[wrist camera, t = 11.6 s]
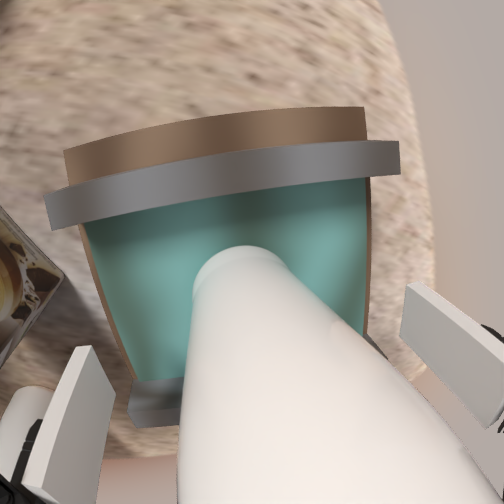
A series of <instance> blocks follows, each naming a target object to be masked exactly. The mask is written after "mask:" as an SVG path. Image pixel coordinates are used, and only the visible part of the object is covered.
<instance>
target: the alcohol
mask: <svg viewBox="0 0 504 504" xmlns="http://www.w3.org/2000/svg"><path fill="white" fill-rule="evenodd" d="M54 393H55V391H54V390H51V389H49V388H46V387H43V386H38V385H30V386H26V387H22V388H20V389H18V390H17V391H16V392H15V393H14V395H13V397H12V399H11V401H10V403H9V405H8V406H7V408H6V410H5V412H4V414H3V416H2V418H1V420H0V474H1V475H2V476H3V477H4V478H6V479H7V480H8V481H9V482H10V481H11V478H12V475H13V472H14V469H15V466H16V463H17V460H18V457H19V455H20V452H21V451H22V446H23V444H24V442H26V441H25V439H26V436H27V434H28V431H29V429H30V427H31V426H32V425H33V424H34V423H35V421H36V420H37V419H44V417H45V414H46V412H47V409H48V407H49V404H50V402H51V400H52V397H53V395H54Z"/></svg>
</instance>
